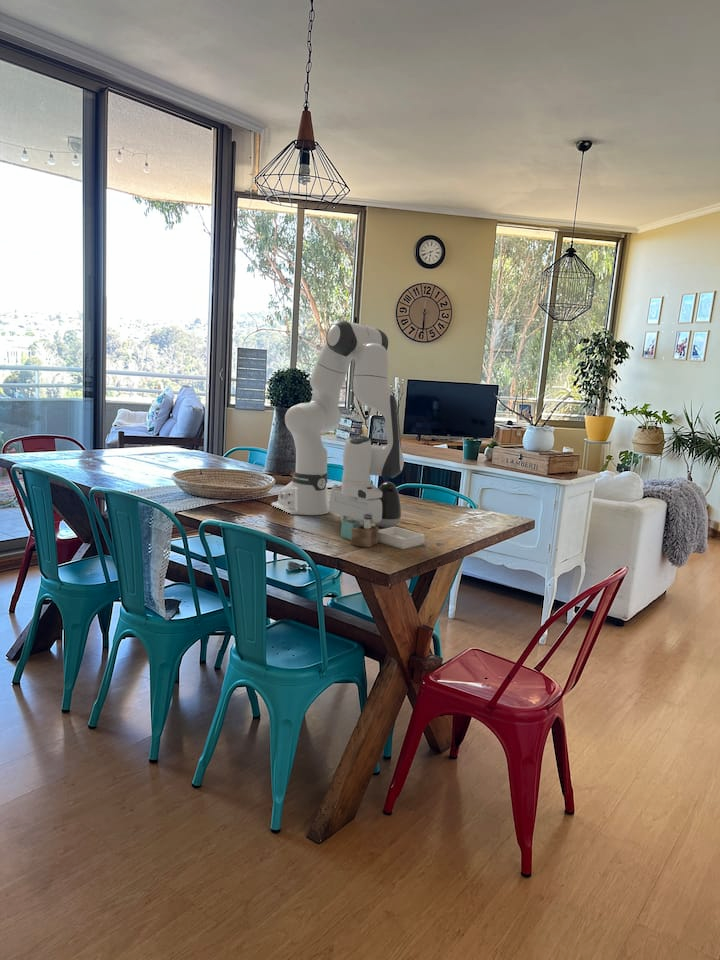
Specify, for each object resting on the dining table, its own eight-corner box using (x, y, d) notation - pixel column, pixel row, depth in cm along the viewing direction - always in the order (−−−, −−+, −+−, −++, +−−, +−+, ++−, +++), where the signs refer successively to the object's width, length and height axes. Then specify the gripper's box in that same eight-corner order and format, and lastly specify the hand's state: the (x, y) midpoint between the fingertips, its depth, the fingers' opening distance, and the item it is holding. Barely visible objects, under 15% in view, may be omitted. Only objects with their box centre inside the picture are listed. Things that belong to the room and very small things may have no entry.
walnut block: (351, 544, 210) (351, 528, 209) (360, 540, 215) (360, 524, 214) (369, 547, 207) (369, 530, 206) (378, 542, 212) (378, 526, 212)
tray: (372, 540, 216) (373, 530, 216) (394, 535, 224) (395, 526, 223) (402, 549, 208) (403, 539, 207) (424, 544, 215) (424, 534, 215)
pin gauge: (361, 544, 211) (362, 514, 210) (367, 542, 213) (367, 513, 212) (367, 545, 210) (367, 516, 208) (372, 544, 211) (373, 515, 210)
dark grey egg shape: (375, 530, 229) (378, 484, 226) (366, 522, 239) (369, 478, 236) (404, 529, 232) (408, 484, 229) (394, 522, 242) (397, 479, 239)
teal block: (340, 536, 218) (341, 520, 217) (351, 534, 222) (352, 518, 221) (352, 540, 215) (353, 524, 214) (363, 537, 218) (364, 522, 218)
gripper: (325, 483, 221) (323, 526, 223) (372, 495, 207) (369, 540, 209) (339, 482, 225) (337, 523, 228) (386, 493, 211) (383, 537, 214)
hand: (353, 531), depth 218 cm, fingers closed on teal block, 5 cm apart
